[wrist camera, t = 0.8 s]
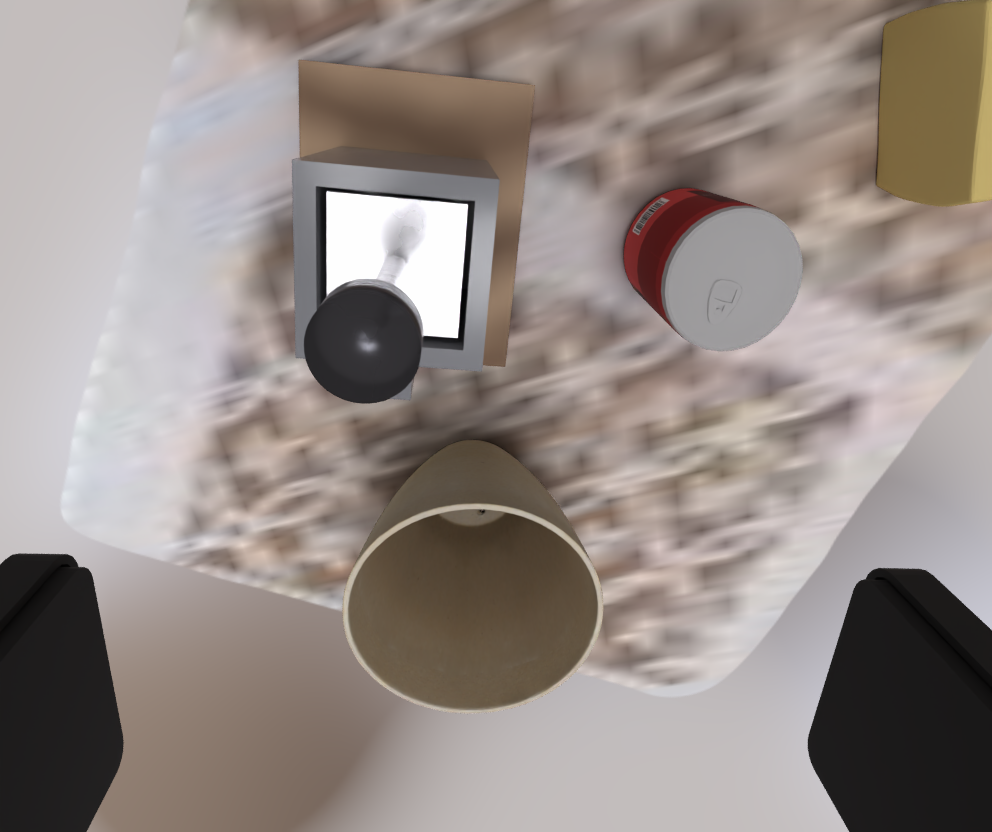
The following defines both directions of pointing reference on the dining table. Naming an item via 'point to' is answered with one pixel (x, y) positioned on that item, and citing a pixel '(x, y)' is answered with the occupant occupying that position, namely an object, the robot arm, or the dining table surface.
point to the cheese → (937, 105)
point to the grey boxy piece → (407, 180)
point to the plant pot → (472, 587)
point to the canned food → (713, 267)
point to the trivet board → (431, 143)
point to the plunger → (384, 291)
